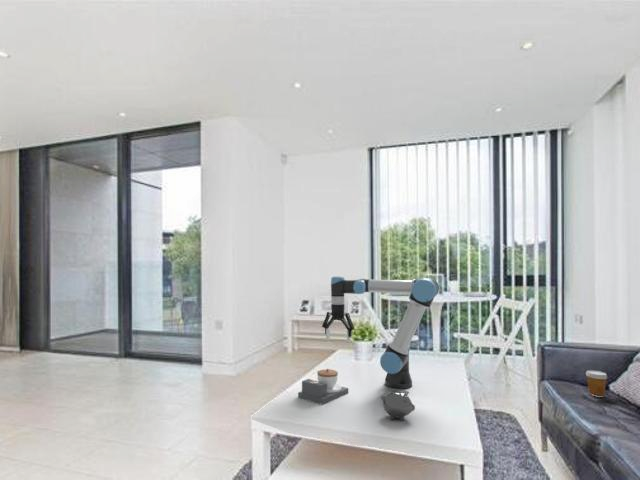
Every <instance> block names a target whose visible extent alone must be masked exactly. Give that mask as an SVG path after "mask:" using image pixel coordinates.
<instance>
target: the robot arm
mask: <svg viewBox="0 0 640 480" xmlns="http://www.w3.org/2000/svg"><path fill="white" fill-rule="evenodd" d="M439 290H440V286H439V283H438V282H437V280H435V279H434V278H432V277H428V276H427V277H422V278H414V279H405V280H404V279H372V278H371V279H369V278H368V279H365V278H360V279H351V280H349V279H348V280H347V279H345V277H344V276H332V277H331V280H330V295H331V296H330V297H331V300H330V301H331V302H330V303H331V306H330V307H331V308H330V310H331V311H330V310H329V311H327V312H326V316H325V318H324V321H323V322H322V326H321V327H322V328H323V329H324V334H325V335H326V339H325V341H330V340H331V328H330V327H331V325H332V324H333V322H334V321H340V322H342V324H343V325H344V327H345V328H346V343H347V344H348V343H351V337H352V331H353V330H356V329H355V326H354V324H353V321H352V319H351V317H350V315H351V314H350V313H349V312H345V294H354V295H362V294H363V295H364V293H378V294H379V293H382V294H403V295H404V294H406V295H409V297H408V298H409V301H410V302H409V304H408V306H407V308H406V311H405V313H404V316H403V317H402V320H401V322H400V325H399V327H398V329H397V331H396V333H395V335H394V338H393V340H392V341H391V342H388V344H387V346H386V347H385V348H386V349H385V351H384V353H383V354H382V355H381V356H380V358H379V359H380V360H379V364H380V367H381V368H382V370H383V371H384V372H386V376H385V379H384V385H385V386H387V387H389V388H391V389H392V388H394V389H401V390H402V389H403V390H404V389H409V388H412V386H413V380H412V377H411V373H410V344H411V342H412V340H413V337H414V335H415V333H416V331H417V329H418V327H419V324H420V322H421V320H422V319H423V315H424V313H425V312H426V309H430V307H431V305H432V303H433V301H434V299H435V297H436V296H437V295H438V294H439Z"/></svg>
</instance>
